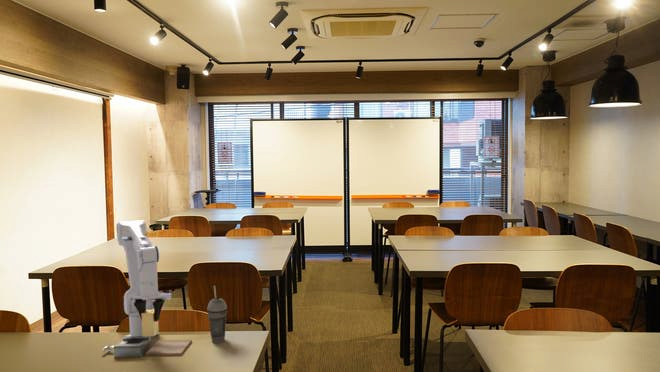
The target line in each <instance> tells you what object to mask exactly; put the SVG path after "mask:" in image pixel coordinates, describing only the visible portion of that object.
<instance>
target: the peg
mask: <svg viewBox="0 0 660 372" xmlns="http://www.w3.org/2000/svg"><path fill="white" fill-rule="evenodd" d="M157 333H160V332H159V320H158V321H155V314H154V309H153V310H145V311H144V312H143V313H142V336H152V337H155V336H157V335H156V334H157Z"/></svg>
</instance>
